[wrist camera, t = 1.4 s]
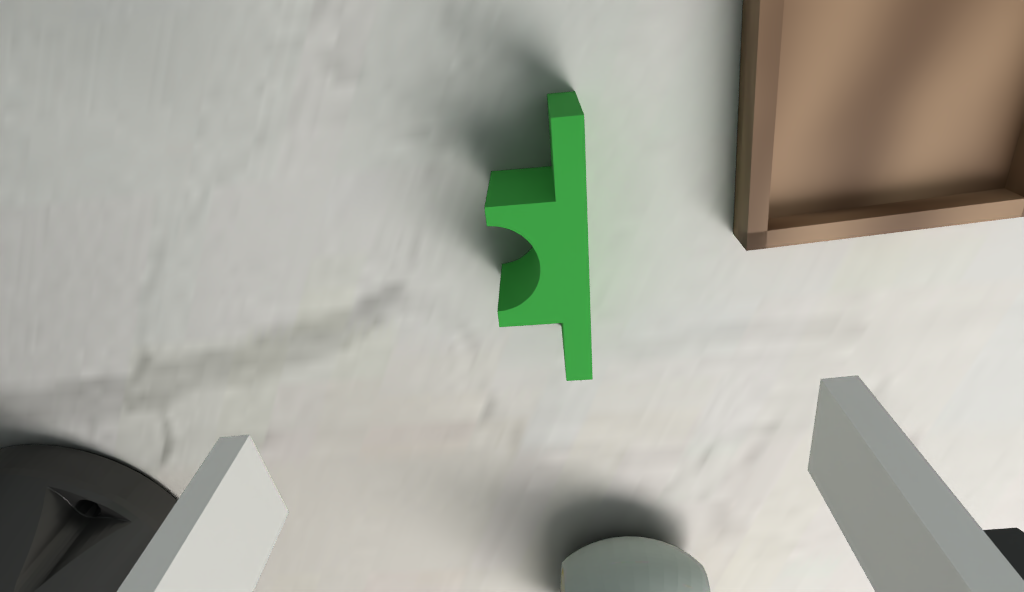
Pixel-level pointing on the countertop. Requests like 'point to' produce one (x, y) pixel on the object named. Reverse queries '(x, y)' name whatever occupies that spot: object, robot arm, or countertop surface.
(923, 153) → the tray
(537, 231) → the pipe clamp
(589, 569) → the air freshener
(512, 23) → the countertop surface
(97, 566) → the robot arm
